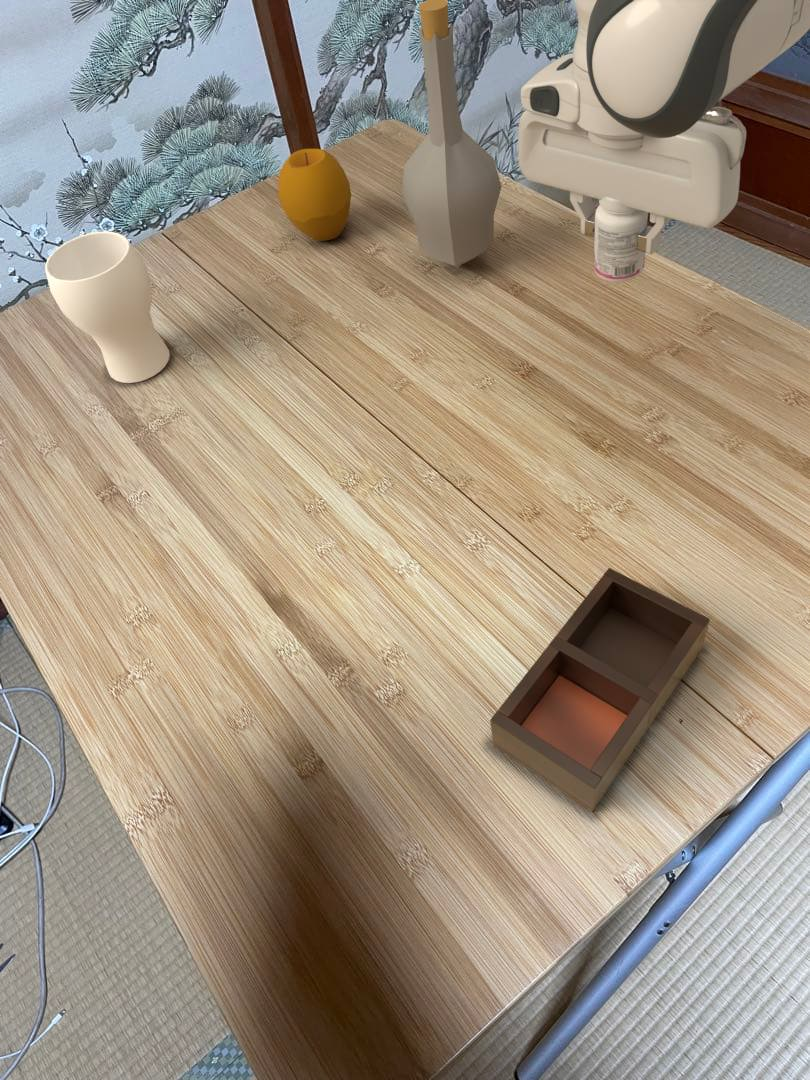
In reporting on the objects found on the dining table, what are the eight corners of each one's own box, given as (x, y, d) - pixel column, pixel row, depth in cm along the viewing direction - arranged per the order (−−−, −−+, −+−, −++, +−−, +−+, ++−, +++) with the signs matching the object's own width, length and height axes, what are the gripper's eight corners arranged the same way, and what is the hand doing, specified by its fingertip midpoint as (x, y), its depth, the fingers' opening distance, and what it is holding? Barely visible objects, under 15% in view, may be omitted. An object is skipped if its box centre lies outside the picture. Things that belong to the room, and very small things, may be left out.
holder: (606, 598, 73) (609, 567, 70) (701, 648, 69) (710, 618, 65) (492, 745, 66) (489, 720, 63) (591, 812, 62) (594, 789, 58)
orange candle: (275, 239, 116) (252, 157, 107) (328, 207, 119) (310, 125, 110) (319, 263, 111) (298, 180, 102) (373, 229, 114) (357, 145, 105)
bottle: (401, 286, 105) (359, 27, 82) (433, 236, 111) (403, -19, 88) (485, 298, 102) (467, 30, 78) (514, 245, 108) (505, -18, 84)
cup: (106, 403, 99) (47, 297, 87) (90, 354, 105) (33, 249, 94) (190, 371, 101) (144, 262, 89) (170, 324, 107) (123, 217, 95)
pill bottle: (607, 250, 83) (611, 169, 77) (652, 261, 81) (659, 179, 75) (584, 276, 81) (585, 196, 75) (629, 288, 79) (635, 206, 72)
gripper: (769, 94, 64) (739, 252, 75) (546, 54, 74) (548, 199, 85) (729, 132, 62) (705, 290, 72) (504, 86, 72) (512, 231, 82)
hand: (619, 240), depth 79 cm, fingers closed on pill bottle, 4 cm apart
